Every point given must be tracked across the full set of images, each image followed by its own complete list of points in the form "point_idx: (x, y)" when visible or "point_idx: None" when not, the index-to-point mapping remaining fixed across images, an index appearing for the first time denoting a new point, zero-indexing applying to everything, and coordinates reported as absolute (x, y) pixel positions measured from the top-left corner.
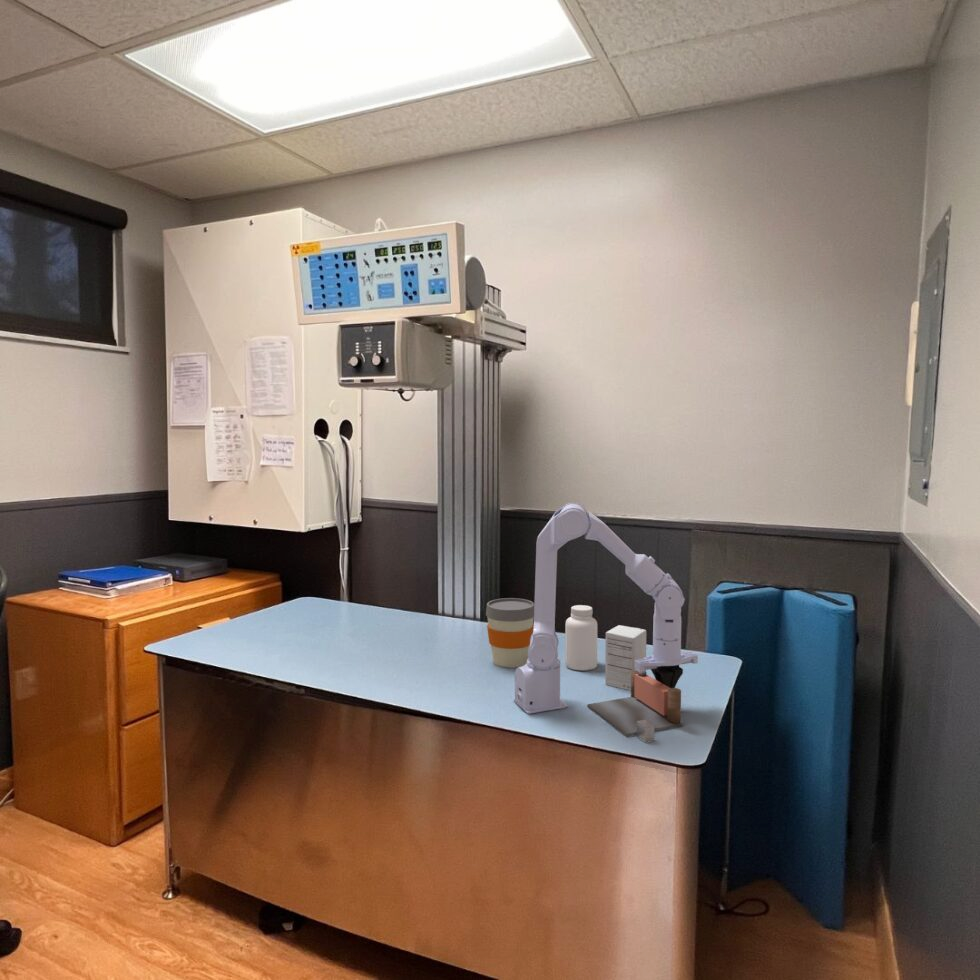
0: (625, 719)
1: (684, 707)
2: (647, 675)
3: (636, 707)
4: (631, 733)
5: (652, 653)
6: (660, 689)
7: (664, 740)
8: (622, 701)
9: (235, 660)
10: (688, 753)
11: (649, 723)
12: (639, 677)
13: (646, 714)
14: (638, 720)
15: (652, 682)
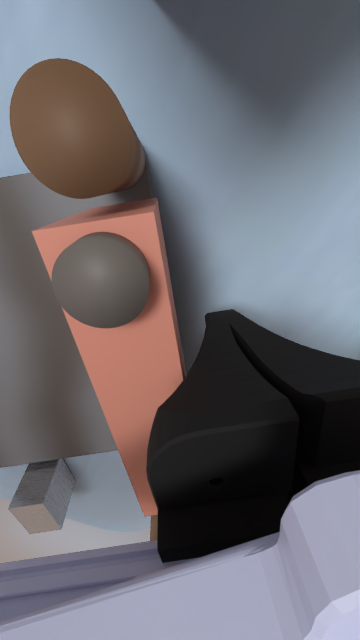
0: (4, 393)
1: (291, 314)
2: (157, 294)
3: None
4: (11, 464)
5: (319, 575)
6: (140, 496)
7: (104, 479)
8: (18, 222)
9: None
10: (135, 519)
11: (49, 520)
12: (66, 317)
13: None
14: (54, 406)
15: (135, 422)
